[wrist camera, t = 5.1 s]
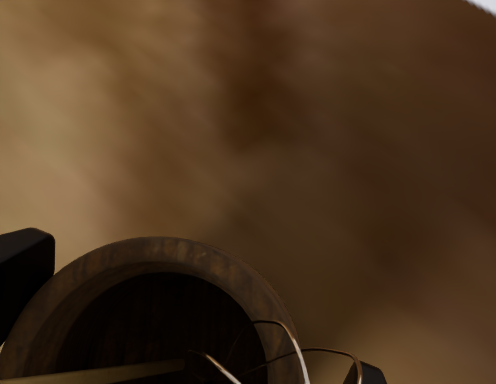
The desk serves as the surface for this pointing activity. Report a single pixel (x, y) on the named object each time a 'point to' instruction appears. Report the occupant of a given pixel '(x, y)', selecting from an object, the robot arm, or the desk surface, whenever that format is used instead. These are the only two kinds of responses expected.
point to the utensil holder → (156, 321)
